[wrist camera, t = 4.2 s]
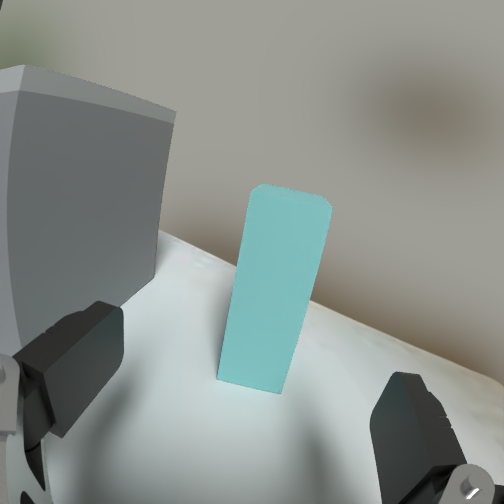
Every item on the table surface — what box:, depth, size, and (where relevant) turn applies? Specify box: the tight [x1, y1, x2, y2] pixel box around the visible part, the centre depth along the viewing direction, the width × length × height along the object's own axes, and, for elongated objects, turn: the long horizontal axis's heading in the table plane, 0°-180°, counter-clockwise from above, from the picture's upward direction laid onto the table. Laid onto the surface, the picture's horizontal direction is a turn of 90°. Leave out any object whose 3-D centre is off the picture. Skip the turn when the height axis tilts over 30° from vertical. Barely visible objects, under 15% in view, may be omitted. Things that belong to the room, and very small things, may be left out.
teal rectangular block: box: [217, 184, 333, 394], centre depth 17 cm, size 4×5×10 cm
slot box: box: [0, 64, 176, 357], centre depth 18 cm, size 12×16×14 cm
